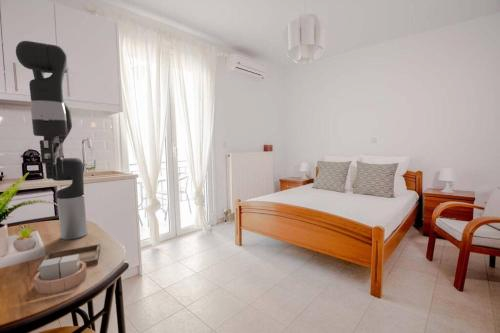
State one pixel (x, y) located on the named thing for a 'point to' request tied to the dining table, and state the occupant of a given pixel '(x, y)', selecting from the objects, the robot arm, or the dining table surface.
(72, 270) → the white rectangular block
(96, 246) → the tray
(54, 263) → the light grey block
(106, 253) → the dining table surface
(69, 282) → the bowl
